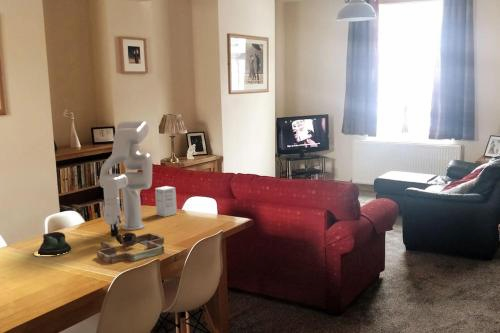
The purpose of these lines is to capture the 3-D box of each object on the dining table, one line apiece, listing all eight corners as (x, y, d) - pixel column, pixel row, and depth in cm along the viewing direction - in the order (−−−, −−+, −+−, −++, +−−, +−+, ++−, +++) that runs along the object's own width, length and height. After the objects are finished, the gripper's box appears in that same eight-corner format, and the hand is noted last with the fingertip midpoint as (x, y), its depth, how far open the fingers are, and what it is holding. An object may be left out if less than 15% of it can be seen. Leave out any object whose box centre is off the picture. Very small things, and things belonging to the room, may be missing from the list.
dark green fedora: (84, 249, 257) (83, 231, 256) (50, 261, 241) (48, 242, 239) (59, 243, 268) (57, 226, 267) (24, 254, 252) (22, 236, 250)
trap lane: (84, 251, 252) (84, 245, 252) (146, 236, 276) (145, 230, 275) (115, 266, 231) (114, 260, 230) (179, 248, 254) (178, 242, 253)
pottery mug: (141, 244, 264) (141, 233, 259) (133, 257, 257) (132, 246, 252) (119, 237, 266) (118, 226, 261) (110, 250, 258) (109, 239, 253)
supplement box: (177, 214, 322) (176, 187, 319) (165, 216, 315) (164, 189, 313) (168, 211, 329) (166, 185, 326) (156, 214, 322) (154, 188, 319)
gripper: (98, 200, 265) (100, 235, 268) (112, 204, 254) (115, 240, 257) (111, 197, 270) (114, 232, 273) (126, 202, 259) (128, 237, 262)
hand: (114, 236), depth 265 cm, fingers closed
